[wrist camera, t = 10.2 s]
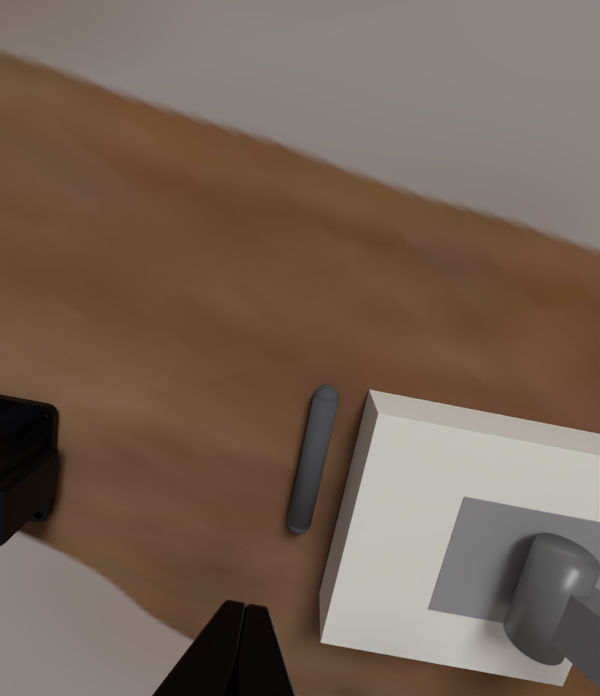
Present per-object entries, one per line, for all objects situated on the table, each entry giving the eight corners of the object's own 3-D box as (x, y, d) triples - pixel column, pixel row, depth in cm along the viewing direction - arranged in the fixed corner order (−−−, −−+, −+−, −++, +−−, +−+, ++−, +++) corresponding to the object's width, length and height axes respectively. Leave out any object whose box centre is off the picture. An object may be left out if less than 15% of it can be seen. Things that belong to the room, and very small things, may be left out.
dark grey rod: (285, 521, 23) (284, 537, 21) (316, 379, 21) (316, 387, 20) (308, 526, 23) (308, 541, 21) (340, 384, 21) (342, 392, 20)
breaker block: (319, 593, 24) (320, 643, 21) (369, 389, 21) (378, 414, 18) (540, 633, 24) (573, 688, 21) (619, 437, 21) (670, 469, 18)
